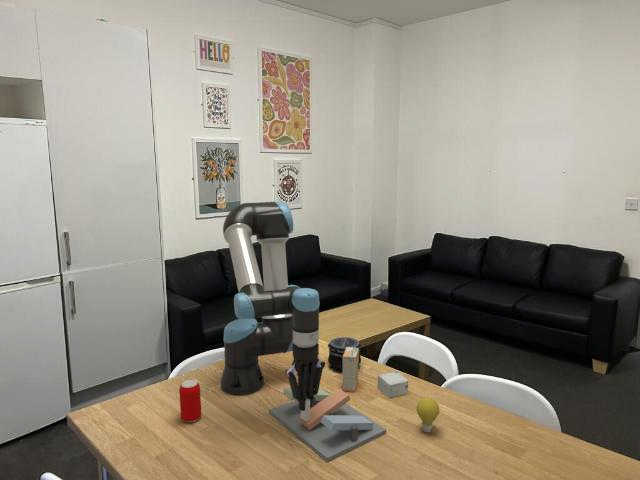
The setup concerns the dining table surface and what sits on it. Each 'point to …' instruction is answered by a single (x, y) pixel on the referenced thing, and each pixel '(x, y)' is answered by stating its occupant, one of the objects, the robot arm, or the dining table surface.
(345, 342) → the container
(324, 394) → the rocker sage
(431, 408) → the light bulb
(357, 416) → the rocker blue
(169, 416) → the dining table surface
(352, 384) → the supplement box
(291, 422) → the board
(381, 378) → the small box
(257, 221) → the robot arm
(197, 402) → the beverage can
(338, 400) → the rocker terracotta
